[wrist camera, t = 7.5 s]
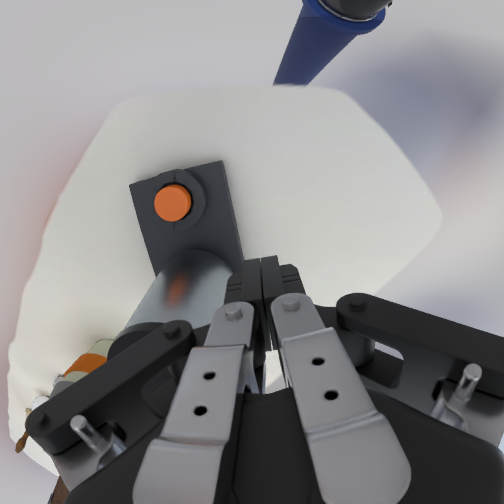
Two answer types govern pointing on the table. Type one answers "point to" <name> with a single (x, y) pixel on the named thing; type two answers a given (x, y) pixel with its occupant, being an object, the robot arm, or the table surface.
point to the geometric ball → (39, 401)
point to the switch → (172, 202)
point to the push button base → (190, 216)
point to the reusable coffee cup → (84, 365)
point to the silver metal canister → (177, 301)
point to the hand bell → (21, 441)
